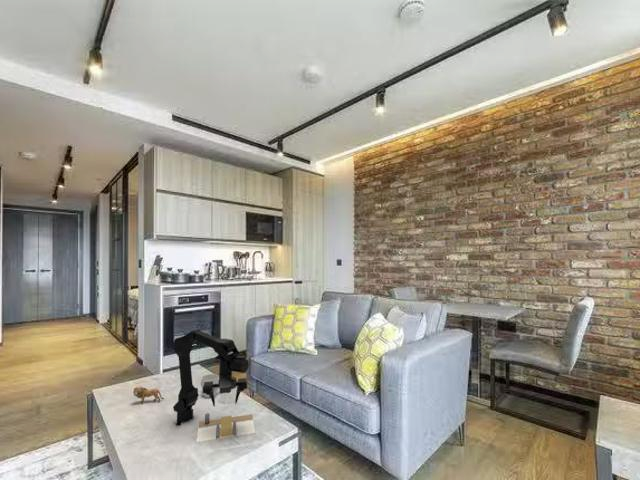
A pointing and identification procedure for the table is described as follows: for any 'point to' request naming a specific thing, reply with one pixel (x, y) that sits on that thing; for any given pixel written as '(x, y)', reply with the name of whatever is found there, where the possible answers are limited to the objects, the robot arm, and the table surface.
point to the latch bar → (226, 426)
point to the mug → (208, 379)
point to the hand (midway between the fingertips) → (225, 404)
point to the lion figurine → (146, 393)
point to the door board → (215, 431)
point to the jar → (229, 395)
